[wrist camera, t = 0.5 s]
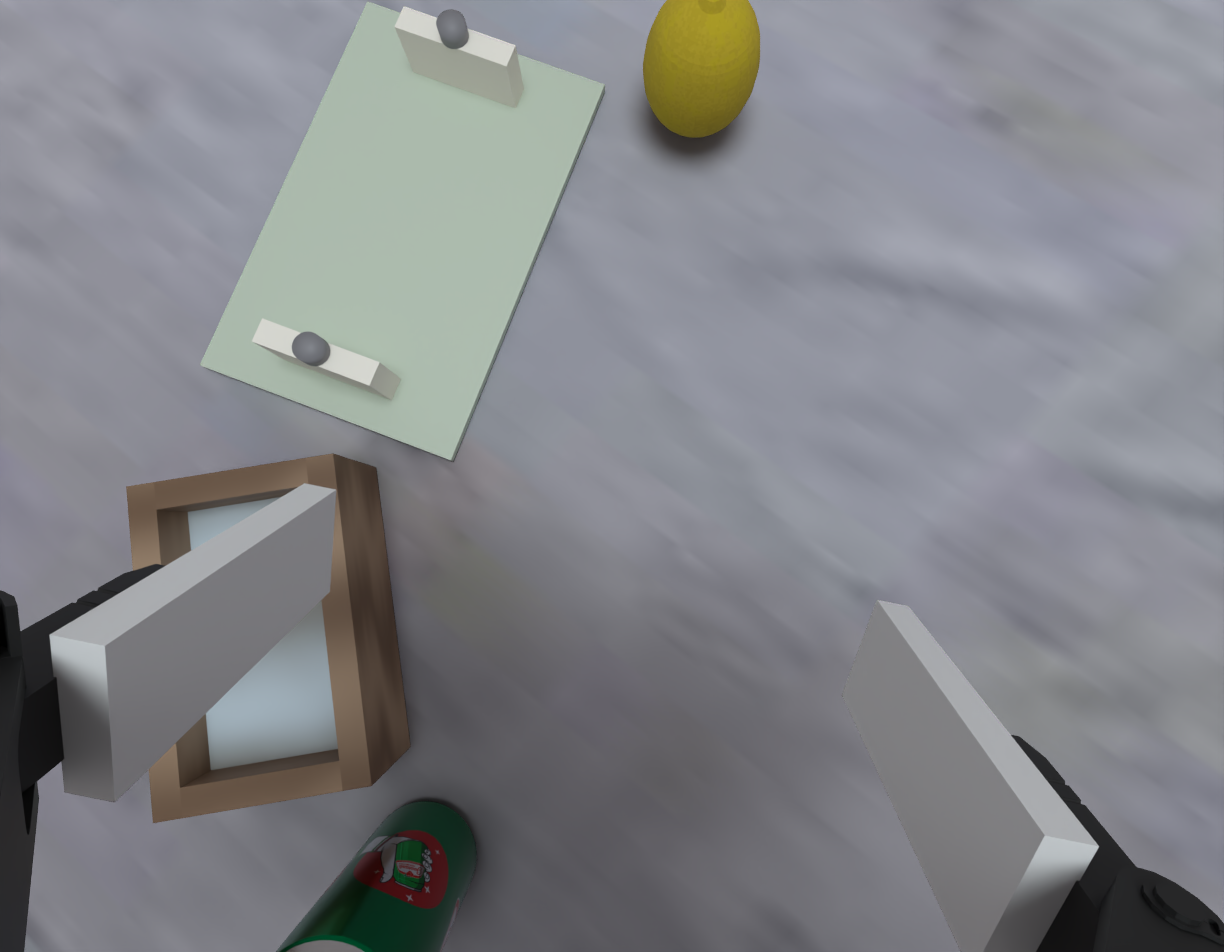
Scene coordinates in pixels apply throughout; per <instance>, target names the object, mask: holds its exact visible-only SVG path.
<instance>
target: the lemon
mask: <svg viewBox="0 0 1224 952" xmlns="http://www.w3.org/2000/svg"><path fill="white" fill-rule="evenodd" d="M759 62H760V31H759V26H758V23H757V19H756V15H755V12H754V10H753V8H752V6H751V5H750V3H749V1H748V0H667V1H666V2H665V3H664V4H663V6H662V7H661V9H660V11H659V13H658V15H657V17H656V19H655V21H654V23H653V25H652V27H651V30H650V33H649V36H648V39H647V44H646V49H645V55H644V61H643V76H644V85H645V92H646V96H647V99H648V101H649V104H650V106H651V109H652V111H653V113H654V114H655V115H656V117H657V118H658V119H659V121H660V122H661V123H662V124H663V125H664V126H665V127H667V128H668V129H669V130H670V131H672V132H674V133H677V134H679V135H681V136H686V137H690V138H695V137H705V136H709V135H712V134H714V133H716V132H718V131H720V130H722V129H724V128H725V127H726V126H727V125H729V124H730V123H731V122H732V121H733V120H734V119H735V118H736V117H737V116H738V115H739V113H740V112H741V110H742V108H743V107H744V105H745V104H746V102H747V100H748V99H749V97H750V95H751V92H752V90H753V87H754V83H755V80H756V77H757V73H758V69H759Z"/></svg>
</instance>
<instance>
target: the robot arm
mask: <svg viewBox="0 0 1224 952" xmlns="http://www.w3.org/2000/svg"><path fill="white" fill-rule="evenodd" d="M335 503H336V490H335V489H330V488H325V487H320V486H315V485H311V484H306V483H304V484H303V485H301V486H299V487H298V488H296V489H294V490H292V491H291V492H289V493H287V494H286V495H284V496H282V497H281V498H279V499H277V500H276V501H274V502H272V503H271V504H269V505H267V506H266V507H264V508H262V509H260V510H259V511H257V512H255V513H254V514H252V515H250V516H249V517H247V518H245V519H244V520H242V521H240V522H239V523H237V524H235V525H234V526H232V527H230V528H228V529H227V530H225V531H223V532H222V533H220V534H218V535H217V536H215V537H213V538H212V539H210V540H208V541H207V542H205V543H203V544H202V545H200V546H198V547H196V548H195V549H193V550H191V551H190V552H188V553H186V554H185V555H183V556H181V557H180V558H178V559H176V560H175V561H173V562H171V563H170V564H168V565H166V566H165V565H160V564H153V565H150V566H147V567H144V568H140V569H137V570H134V571H131V572H127V573H124V574H122V575H120V576H119V577H117V578H115V579H113V580H112V581H110V582H108V583H106V584H104V585H103V586H101V587H99V588H98V591H92V592H90V593H88V594H87V595H85V596H83V597H81V598H79V599H78V600H77V602H76V603H71V604H69V605H67V606H65V607H63V608H62V609H60V610H58V611H56V612H55V613H53V614H51V615H49V616H47V617H46V618H44V619H42V620H40V621H38V622H37V623H35V624H33V625H31V626H30V627H28V628H26V629H24V630H22V631H21V632H20V626H19V617H18V608H17V603H16V601H15V598H14V596H12V595H10V594H7V593H5V592H3V591H0V952H24V947H25V936H26V926H27V916H28V905H29V895H30V885H31V875H32V864H33V854H34V844H35V834H36V823H37V813H38V803H39V795H38V786H37V781H38V780H39V779H40V778H41V777H43V776H44V775H45V774H46V773H48V772H49V771H50V770H51V769H52V768H54V767H55V766H56V765H57V764H59V763H60V762H61V761H62V771H63V782H64V792H65V793H70V794H75V795H80V796H85V797H90V798H95V799H100V800H105V801H110V802H116V801H117V800H118V799H119V798H120V797H121V796H122V795H123V794H124V793H125V792H126V791H127V790H128V789H129V788H130V787H131V786H132V785H133V784H134V783H135V782H136V781H137V780H138V779H139V778H140V777H141V776H142V775H144V774H145V773H146V772H147V771H148V770H149V769H150V768H151V767H152V766H153V765H154V764H155V763H156V762H157V761H158V760H159V759H160V758H161V757H162V756H163V755H164V754H165V753H166V752H167V751H168V750H169V749H170V748H171V747H172V746H173V745H174V744H175V743H176V742H177V741H178V740H179V739H180V738H181V737H182V736H183V735H184V734H185V733H186V732H187V731H188V730H189V729H190V728H191V727H192V726H193V725H194V724H195V723H197V722H198V721H199V720H200V719H201V718H202V717H203V716H204V715H205V714H206V713H207V712H208V711H209V710H210V709H211V708H212V707H213V706H214V705H215V704H216V703H217V702H218V701H219V700H220V699H221V698H222V697H223V696H224V695H225V694H226V693H227V692H228V691H229V690H230V689H231V688H232V687H233V686H234V685H235V684H236V683H237V682H238V681H239V680H240V679H241V678H242V677H243V676H244V675H245V674H246V673H247V672H249V671H250V670H251V669H252V668H253V667H254V666H255V665H256V664H257V663H258V662H259V661H260V660H261V659H262V658H263V657H264V656H265V655H266V654H267V653H268V652H269V651H270V650H271V649H272V648H273V647H274V646H275V645H276V644H277V643H278V642H279V641H280V640H281V639H282V638H283V637H284V636H285V635H286V634H287V633H288V632H289V631H290V630H291V629H292V628H293V627H294V626H295V625H296V624H297V623H298V622H299V621H300V620H302V619H303V618H304V617H305V616H306V615H307V614H308V613H309V612H310V611H311V610H312V609H313V608H314V607H315V606H316V605H317V604H318V603H319V602H320V601H321V600H322V599H323V598H324V597H325V596H326V595H327V594H328V593H329V592H330V583H331V567H332V551H333V535H334V519H335ZM842 697H843V699H844V701H845V703H846V705H847V708H848V710H849V712H850V714H851V716H852V718H853V721H854V723H855V725H856V727H857V729H858V731H859V733H860V736H861V738H862V740H863V742H864V744H865V746H866V749H867V751H868V753H869V755H870V757H871V759H872V761H873V764H874V766H875V768H876V770H877V772H878V774H879V777H880V779H881V781H882V783H883V785H884V787H885V789H886V792H887V794H888V796H889V798H890V800H891V802H892V804H893V807H894V809H895V811H896V813H897V815H898V817H899V820H900V822H901V824H902V826H903V828H904V830H905V832H906V835H907V837H908V839H909V841H910V843H911V845H912V848H913V850H914V852H915V854H916V856H917V858H918V860H919V863H920V865H921V867H922V869H923V871H924V873H925V876H926V878H927V880H928V882H929V884H930V886H931V888H932V891H933V893H934V895H935V897H936V899H937V901H938V904H939V906H940V908H941V910H942V912H943V914H944V916H945V919H946V921H947V923H948V925H949V927H950V929H951V932H952V934H953V936H954V938H955V940H956V942H957V944H958V947H959V949H960V951H961V952H1224V923H1223V922H1222V921H1221V919H1220V918H1219V917H1218V916H1217V915H1216V914H1215V913H1214V912H1213V911H1212V910H1210V909H1209V908H1208V907H1207V906H1206V905H1205V904H1204V903H1203V902H1202V901H1200V900H1199V899H1198V898H1197V897H1195V896H1194V895H1192V894H1191V893H1190V892H1188V891H1187V890H1185V889H1184V888H1182V887H1181V886H1179V885H1178V884H1176V883H1175V882H1173V881H1171V880H1169V879H1167V878H1165V877H1163V876H1161V875H1159V874H1157V873H1155V872H1152V871H1148V870H1145V869H1141V868H1138V867H1136V866H1135V865H1134V864H1133V862H1132V861H1131V860H1130V859H1129V858H1128V856H1127V855H1126V854H1125V853H1124V852H1123V850H1122V849H1121V848H1120V847H1119V846H1118V844H1117V843H1116V842H1115V841H1114V840H1113V838H1112V837H1111V836H1110V835H1109V834H1108V832H1107V831H1106V830H1105V829H1104V828H1103V826H1102V825H1101V824H1100V823H1099V822H1098V820H1097V819H1096V818H1095V817H1094V815H1093V814H1092V813H1091V812H1090V811H1089V809H1088V808H1087V807H1086V806H1085V805H1082V804H1081V800H1080V799H1079V797H1078V796H1077V795H1076V794H1075V793H1074V791H1073V790H1072V789H1071V788H1070V787H1069V786H1067V785H1065V781H1064V779H1063V778H1062V777H1061V776H1060V775H1059V773H1058V772H1057V771H1056V770H1055V768H1054V767H1053V766H1052V765H1051V764H1050V762H1049V761H1048V760H1047V759H1046V758H1045V757H1044V756H1043V755H1041V754H1040V753H1039V752H1038V751H1036V750H1035V749H1034V748H1033V747H1031V746H1030V745H1029V744H1028V743H1027V742H1025V741H1024V740H1023V739H1022V738H1020V737H1019V736H1014V735H1010V734H1009V732H1008V731H1007V730H1006V729H1005V727H1004V726H1003V725H1002V723H1001V722H1000V721H999V720H998V718H997V717H996V716H995V715H994V713H993V712H992V711H991V710H990V708H989V707H988V706H987V705H986V703H985V702H984V701H983V700H982V698H981V697H980V696H979V695H978V693H977V692H976V691H975V689H974V688H973V687H972V686H971V684H970V683H969V682H968V681H967V679H966V678H965V677H964V676H963V674H962V673H961V672H960V671H959V669H958V668H957V667H956V666H955V664H954V663H953V662H952V661H951V659H950V658H949V657H948V655H947V654H946V653H945V652H944V650H943V649H942V648H941V647H940V645H939V644H938V643H937V642H936V640H935V639H934V638H933V637H932V635H931V634H930V633H929V632H928V630H927V629H926V628H925V627H924V625H923V624H922V623H921V622H920V620H919V619H918V618H917V616H916V615H915V614H914V613H913V611H912V610H911V609H910V608H909V606H905V605H900V604H895V603H890V602H885V601H880V600H877V601H876V604H875V606H874V609H873V612H872V615H871V617H870V620H869V623H868V625H867V628H866V631H865V634H864V636H863V639H862V642H861V644H860V647H859V650H858V653H857V655H856V658H855V661H854V663H853V666H852V669H851V672H850V674H849V677H848V680H847V682H846V685H845V688H844V691H843V693H842Z"/></svg>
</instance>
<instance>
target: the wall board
mask: <svg viewBox="0 0 1224 952" xmlns="http://www.w3.org/2000/svg"><path fill="white" fill-rule="evenodd" d="M604 92H605V85H604V84H602V83H599V82H596V81H593V80H590V79H587V78H584V77H582V76H579V75H576V74H573V73H570V72H567V71H565V70H562V69H559V68H556V67H553V66H550V65H547V64H545V63H542V62H539V61H536V60H533V59H530V58H527V57H525V56H522V55H519V54H517V50H516V45H513V44H510V43H507V42H504V41H502V40H499V39H496V38H493V37H490V36H487V35H484V34H482V33H479V32H476V31H473V30H470V29H467V25H466V22H465V18H464V16H463V15H462V14H461V13H460V12H459V11H457V10H446V11H443V12H442V13H441V14H440V15H439V16H438V18H436V17H433V16H430V15H427V14H424V13H422V12H419V11H416V10H413V9H410V8H407V7H403V9H402V11H401V13H399V12H396V11H393V10H390V9H388V8H385V7H382V6H379V5H376V4H373V3H370V2H368V1H367V4H366V6H365V8H364V10H363V12H362V14H361V17H360V19H359V21H358V23H357V25H356V27H355V30H354V32H353V34H352V36H351V38H350V40H349V43H348V45H347V47H346V49H345V51H344V53H343V56H342V58H341V60H340V62H339V64H338V67H337V69H336V71H335V73H334V75H333V77H332V80H331V82H330V84H329V86H328V88H327V90H326V93H325V95H324V97H323V99H322V101H321V103H320V106H319V108H318V110H317V112H316V114H315V116H314V119H313V121H312V123H311V125H310V127H309V129H308V132H307V134H306V136H305V138H304V140H303V142H302V145H301V147H300V149H299V151H298V153H297V155H296V158H295V160H294V162H293V164H292V166H291V168H290V171H289V173H288V175H287V177H286V179H285V181H284V184H283V186H282V188H281V190H280V192H279V194H278V197H277V199H276V201H275V203H274V205H273V207H272V210H271V212H270V214H269V216H268V218H267V220H266V223H265V225H264V227H263V229H262V231H261V233H260V236H259V238H258V240H257V242H256V244H255V246H254V249H253V251H252V253H251V255H250V257H249V259H248V262H247V264H246V266H245V268H244V270H243V273H242V275H241V277H240V279H239V281H238V283H237V286H236V288H235V290H234V292H233V294H232V296H231V299H230V301H229V303H228V305H227V307H226V309H225V312H224V314H223V316H222V318H221V320H220V322H219V325H218V327H217V329H216V331H215V333H214V335H213V338H212V340H211V342H210V344H209V346H208V348H207V351H206V353H205V355H204V357H203V359H202V361H201V364H200V365H201V366H203V367H205V368H208V369H210V370H213V371H216V372H218V373H221V374H223V375H226V376H229V377H231V378H234V379H237V380H239V381H242V382H245V383H247V384H250V385H252V386H255V387H258V388H260V389H263V390H266V391H268V392H271V393H274V394H276V395H279V396H281V397H284V398H287V399H289V400H292V401H295V402H297V403H300V404H303V405H305V406H308V407H310V408H313V409H316V410H318V411H321V412H324V413H326V414H329V415H332V416H334V417H337V418H340V419H342V420H345V421H347V422H350V423H353V424H355V425H358V426H361V427H363V428H366V429H369V430H371V431H374V432H376V433H379V434H382V435H384V436H387V437H390V438H392V439H395V440H398V441H400V442H403V443H405V444H408V445H411V446H413V447H416V448H419V449H421V450H424V451H427V452H429V453H432V454H434V455H437V456H440V457H442V458H445V459H448V460H450V461H454V459H455V456H456V454H457V451H458V449H459V447H460V444H461V442H462V439H463V437H464V434H465V432H466V429H467V427H468V425H469V422H470V420H471V417H472V415H473V412H474V410H475V407H476V405H477V403H478V400H479V398H480V395H481V393H482V390H483V388H484V385H485V383H486V381H487V378H488V376H489V373H490V371H491V368H492V366H493V363H494V361H495V359H496V356H497V354H498V351H499V349H500V346H501V344H502V341H503V339H504V337H505V334H506V332H507V329H508V327H509V324H510V322H511V319H512V317H513V315H514V312H515V310H516V307H517V305H518V302H519V300H520V297H521V295H522V293H523V290H524V288H525V285H526V283H527V280H528V278H529V275H530V273H531V271H532V268H533V266H534V263H535V261H536V258H537V256H538V253H539V251H540V249H541V246H542V244H543V241H544V239H545V236H546V234H547V231H548V229H549V227H550V224H551V222H552V219H553V217H554V214H555V212H556V209H557V207H558V205H559V202H560V200H561V197H562V195H563V192H564V190H565V187H566V185H567V183H568V180H569V178H570V175H571V173H572V170H573V168H574V165H575V163H576V161H577V158H578V156H579V153H580V151H581V148H582V146H583V144H584V141H585V139H586V136H587V134H588V131H589V129H590V126H591V124H592V122H593V119H594V117H595V114H596V112H597V109H598V107H599V104H600V102H601V100H602V97H603V95H604Z"/></svg>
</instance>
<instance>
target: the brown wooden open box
mask: <svg viewBox="0 0 1224 952" xmlns="http://www.w3.org/2000/svg"><path fill="white" fill-rule="evenodd" d="M304 483H306V484H311V485H315V486H320V487H325V488H330V489H335V490H336V503H335V519H334V535H333V551H332V567H331V583H330V592H329V593H328V594H327V595H326V596H325V597H324V598H323V599H322V600H321V601H320V602H319V603H318V604H317V605H316V606H315V607H314V608H313V609H312V610H311V611H310V612H309V613H308V614H307V615H306V616H305V617H304V618H303V619H302V620H300V621H299V622H298V623H297V624H296V625H295V626H294V627H293V628H292V629H291V630H290V631H289V632H288V633H287V634H286V635H285V636H284V637H283V638H282V639H281V640H280V641H279V642H278V643H277V644H276V645H275V646H274V647H273V648H272V649H271V650H270V651H269V652H268V653H267V654H266V655H265V656H264V657H263V658H262V659H261V660H260V661H259V662H258V663H257V664H256V665H255V666H254V667H253V668H252V669H251V670H250V671H249V672H247V673H246V674H245V675H244V676H243V677H242V678H241V679H240V680H239V681H238V682H237V683H236V684H235V685H234V686H233V687H232V688H231V689H230V690H229V691H228V692H227V693H226V694H225V695H224V696H223V697H222V698H221V699H220V700H219V701H218V702H217V703H216V704H215V705H214V706H213V707H212V708H211V709H210V710H209V711H208V712H207V713H206V714H205V715H204V716H203V717H202V718H201V719H200V720H199V721H198V722H197V723H195V724H194V725H193V726H192V727H191V728H190V729H189V730H188V731H187V732H186V733H185V734H184V735H183V736H182V737H181V738H180V739H179V740H178V741H177V742H176V743H175V744H174V745H173V746H172V747H171V748H170V749H169V750H168V751H167V752H166V753H165V754H164V755H163V756H162V757H161V758H160V759H159V760H158V761H157V762H156V763H155V764H154V765H153V766H152V767H151V768H150V769H149V778H150V791H151V803H152V816H153V823H157V822H162V821H168V820H174V819H180V818H186V817H192V816H198V815H204V814H210V813H215V812H221V811H227V810H233V809H239V808H245V807H251V806H257V805H263V804H268V803H274V802H280V801H286V800H292V799H298V798H304V797H310V796H316V795H322V794H327V793H333V792H339V791H345V790H351V789H357V788H363V787H369V786H372V785H373V784H374V783H375V782H376V781H377V780H378V779H379V778H380V777H381V776H382V775H383V774H384V773H385V772H386V771H387V770H388V769H389V768H390V767H391V766H392V765H393V764H394V763H395V762H396V761H397V760H398V759H399V758H400V757H401V756H402V755H403V754H404V753H405V752H406V751H407V750H408V749H409V748H410V747H411V746H410V738H409V730H408V722H407V714H406V706H405V698H404V689H403V681H402V673H401V665H400V657H399V649H398V641H397V633H396V625H395V616H394V608H393V600H392V592H391V584H390V576H389V568H388V560H387V552H386V543H385V535H384V527H383V519H382V511H381V503H380V495H379V487H378V479H377V471H376V467H373V466H370V465H367V464H364V463H361V462H358V461H355V460H351V459H348V458H345V457H342V456H339V455H336V454H327V455H321V456H315V457H308V458H302V459H296V460H290V461H283V462H277V463H271V464H265V465H258V466H252V467H246V468H240V469H234V470H227V471H221V472H215V473H209V474H202V475H196V476H190V477H184V478H177V479H171V480H165V481H159V482H153V483H146V484H140V485H134V486H128V487H126V489H127V501H128V514H129V526H130V539H131V551H132V564H133V571H134V570H137V569H140V568H144V567H147V566H150V565H153V564H160V565H165V566H166V565H168V564H170V563H171V562H173V561H175V560H176V559H178V558H180V557H181V556H183V555H185V554H186V553H188V552H190V551H191V550H193V549H195V548H196V547H198V546H200V545H202V544H203V543H205V542H207V541H208V540H210V539H212V538H213V537H215V536H217V535H218V534H220V533H222V532H223V531H225V530H227V529H228V528H230V527H232V526H234V525H235V524H237V523H239V522H240V521H242V520H244V519H245V518H247V517H249V516H250V515H252V514H254V513H255V512H257V511H259V510H260V509H262V508H264V507H266V506H267V505H269V504H271V503H272V502H274V501H276V500H277V499H279V498H281V497H282V496H284V495H286V494H287V493H289V492H291V491H292V490H294V489H296V488H298V487H299V486H301V485H303V484H304Z"/></svg>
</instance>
